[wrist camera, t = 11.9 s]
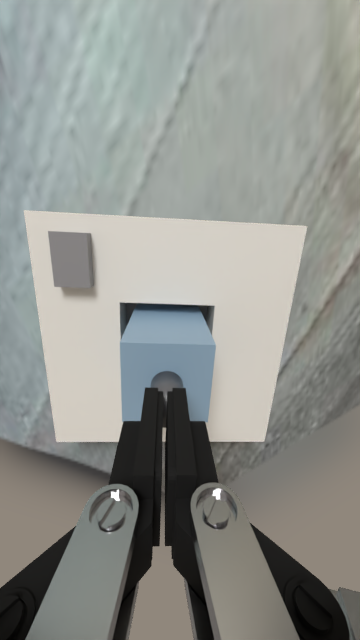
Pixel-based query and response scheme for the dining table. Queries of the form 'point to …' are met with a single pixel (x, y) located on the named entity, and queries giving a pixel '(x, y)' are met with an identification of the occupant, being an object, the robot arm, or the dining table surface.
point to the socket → (160, 288)
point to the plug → (166, 358)
